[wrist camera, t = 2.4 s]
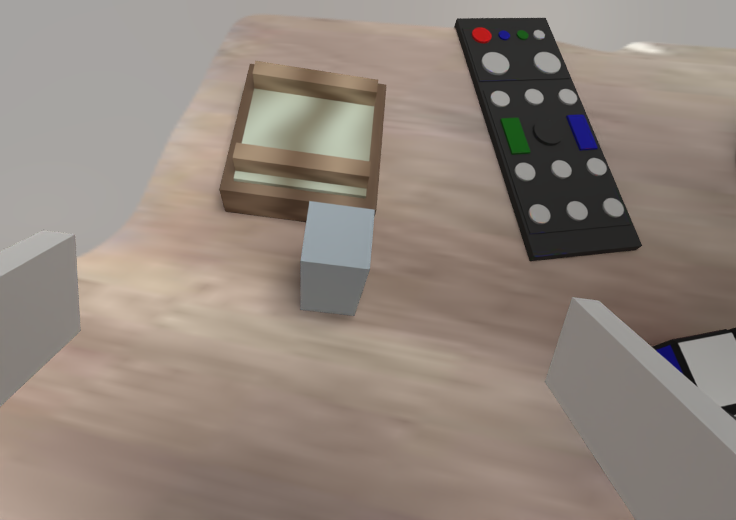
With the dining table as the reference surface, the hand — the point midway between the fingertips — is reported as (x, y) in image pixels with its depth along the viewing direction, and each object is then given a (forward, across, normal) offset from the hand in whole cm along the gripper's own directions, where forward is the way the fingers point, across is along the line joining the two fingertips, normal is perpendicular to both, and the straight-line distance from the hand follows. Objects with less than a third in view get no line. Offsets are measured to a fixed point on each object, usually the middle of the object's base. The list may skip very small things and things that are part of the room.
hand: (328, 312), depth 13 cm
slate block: (+26, +1, -11) cm, 28 cm away
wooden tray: (+35, -3, -2) cm, 36 cm away
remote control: (+42, +20, +4) cm, 46 cm away
